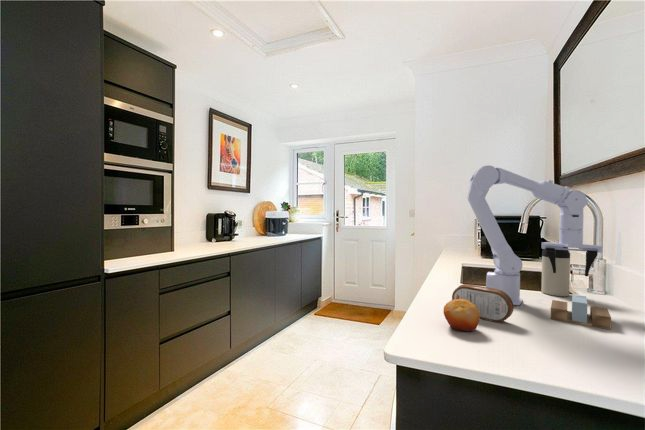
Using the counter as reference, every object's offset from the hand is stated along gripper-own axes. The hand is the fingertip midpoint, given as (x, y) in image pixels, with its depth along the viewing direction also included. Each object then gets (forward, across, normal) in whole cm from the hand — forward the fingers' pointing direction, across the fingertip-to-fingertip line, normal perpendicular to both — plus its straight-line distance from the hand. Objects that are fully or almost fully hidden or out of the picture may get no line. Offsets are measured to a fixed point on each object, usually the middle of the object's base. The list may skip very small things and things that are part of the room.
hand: (570, 274), depth 97 cm
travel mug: (+10, -4, +16) cm, 19 cm away
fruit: (+10, -21, -41) cm, 47 cm away
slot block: (+10, +2, -13) cm, 16 cm away
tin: (+10, -19, -29) cm, 36 cm away
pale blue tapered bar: (+9, +2, -13) cm, 16 cm away
